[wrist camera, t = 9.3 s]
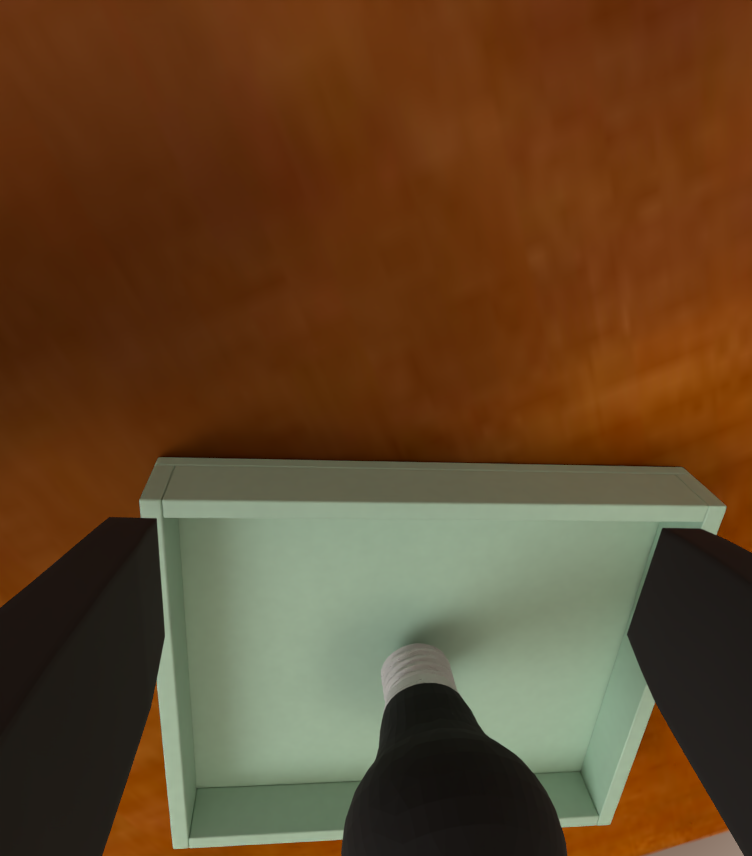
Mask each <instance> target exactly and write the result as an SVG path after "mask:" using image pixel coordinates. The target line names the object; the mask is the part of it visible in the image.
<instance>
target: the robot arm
mask: <svg viewBox="0 0 752 856" xmlns="http://www.w3.org/2000/svg"><path fill="white" fill-rule="evenodd" d="M627 636H628V639H629V641H630V644H631V647H632V649H633V652H634V654H635V657H636V659H637V662H638V664H639V667H640V669H641V672H642V674H643V676H644V678H645V681H646V683H647V685H648V687H649V690H650V692H651V694H652V697H653V699H654V701H655V703H656V704H657V706H658V708H659V710H660V712H661V713H662V715H663V717H664V719H665V720H666V722H667V724H668V726H669V727H670V729H671V731H672V733H673V734H674V736H675V738H676V740H677V741H678V743H679V745H680V747H681V748H682V750H683V752H684V754H685V755H686V757H687V759H688V760H689V762H690V764H691V766H692V767H693V769H694V771H695V772H696V774H697V776H698V778H699V779H700V781H701V783H702V784H703V786H704V788H705V789H706V791H707V793H708V795H709V796H710V798H711V800H712V801H713V803H714V805H715V807H716V808H717V810H718V812H719V813H720V815H721V817H722V818H723V820H724V822H725V824H726V825H727V827H728V829H729V830H730V832H731V834H732V835H733V837H734V839H735V841H736V842H737V844H738V846H739V848H740V849H741V851H742V853H743V854H744V856H752V553H751V552H749V551H747V550H745V549H743V548H741V547H739V546H737V545H735V544H733V543H732V542H730V541H728V540H725V539H723V538H721V537H719V536H717V535H715V534H713V533H710V532H708V531H706V530H703V529H701V528H662V530H661V533H660V536H659V539H658V542H657V545H656V548H655V551H654V554H653V557H652V560H651V563H650V566H649V569H648V572H647V575H646V578H645V581H644V584H643V587H642V590H641V593H640V596H639V599H638V602H637V605H636V608H635V611H634V614H633V617H632V620H631V623H630V626H629V629H628V632H627ZM164 640H165V627H164V613H163V599H162V585H161V571H160V557H159V543H158V529H157V518H121V517H109V518H108V519H106V520H105V521H104V522H103V523H101V524H100V525H99V526H98V527H97V528H95V529H94V530H93V531H92V532H91V533H89V534H88V535H87V536H86V537H85V538H84V539H82V540H81V541H80V542H79V543H78V544H76V545H75V546H74V547H73V548H72V549H70V550H69V551H68V552H67V553H66V554H65V555H63V556H62V557H61V558H60V559H59V560H58V561H56V562H55V563H54V564H53V565H52V566H50V567H49V568H48V569H47V570H46V571H45V572H43V573H42V574H41V575H40V576H39V577H37V578H36V579H35V580H34V581H33V582H31V583H30V584H29V585H28V586H27V587H25V588H24V589H23V590H22V591H20V592H19V593H18V594H17V595H16V596H14V597H13V598H12V599H11V600H9V601H8V602H7V603H6V604H4V605H3V606H2V607H1V608H0V856H102V854H103V851H104V848H105V845H106V842H107V839H108V836H109V833H110V830H111V827H112V824H113V821H114V818H115V815H116V812H117V809H118V806H119V803H120V800H121V797H122V794H123V791H124V788H125V785H126V782H127V779H128V776H129V773H130V770H131V767H132V764H133V761H134V758H135V754H136V751H137V748H138V745H139V742H140V739H141V736H142V733H143V730H144V727H145V724H146V721H147V717H148V714H149V711H150V708H151V703H152V699H153V694H154V689H155V685H156V680H157V675H158V670H159V665H160V660H161V655H162V650H163V645H164Z"/></svg>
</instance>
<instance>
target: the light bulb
mask: <svg viewBox="0 0 752 856" xmlns="http://www.w3.org/2000/svg"><path fill="white" fill-rule="evenodd" d="M381 679H382V686H383V694H384V700H385V707H384V712H383V718H382V722H381V728H380V736H379V748H378V752H377V755H376V759H375V761H374V763H373V764H372V765H371V766H370V768H369V769H368V771H367V772H366V774H365V775H364V777H363V779H362V780H361V782H360V783H359V785H358V787H357V789H356V791H355V793H354V796H353V799H352V802H351V805H350V808H349V810H348V813H347V816H346V819H345V825H344V832H343V842H342V852H341V854H342V856H567V850H566V842H565V838H564V834H563V831H562V828H561V824H560V821H559V818H558V815H557V812H556V809H555V807H554V805H553V803H552V801H551V799H550V797H549V795H548V793H547V791H546V790H545V788H544V787H543V786H542V784H541V783H540V781H539V780H538V778H537V777H536V775H535V774H534V773H533V772H532V771H531V770H530V769H529V767H528V766H527V765H526V764H525V763H524V762H523V761H522V760H521V759H520V758H519V757H518V756H517V755H516V754H515V753H513V752H512V751H510V750H509V749H507V748H506V747H504V746H503V745H501V744H500V743H498V742H497V741H495V740H494V739H491V738H490V737H489V736H487V735H486V734H485V733H484V731H483V730H482V729H481V727H480V726H479V724H478V722H477V720H476V718H475V716H474V715H473V713H472V711H471V709H470V708H469V706H468V705H467V704H466V702H465V701H464V700H463V698H462V696H461V695H460V693H459V692H458V691H457V688H456V685H455V681H454V677H453V674H452V670H451V667H450V663H449V661H448V659H447V658H446V656H445V655H444V653H443V652H442V651H441V650H439V649H438V648H436V647H434V646H431V645H427V644H421V643H415V644H409V645H406V646H403V647H401V648H399V649H397V650H396V651H394V652H393V653H392V654H391V655H390V656H389V657H388V658H387V659H386V660H385V662H384V663H383V666H382V669H381Z"/></svg>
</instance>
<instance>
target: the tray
mask: <svg viewBox="0 0 752 856" xmlns="http://www.w3.org/2000/svg"><path fill="white" fill-rule="evenodd" d="M139 505H140V515H141V518H157V529H158V543H159V557H160V571H161V585H162V599H163V613H164V627H165V640H164V645H163V650H162V655H161V660H160V665H159V670H158V675H157V690H158V700H159V710H160V720H161V731H162V741H163V751H164V761H165V772H166V782H167V792H168V803H169V813H170V823H171V833H172V844H173V849H182V848H189V847H190V848H202V847H219V846H237V845H255V844H273V843H291V842H309V841H326V840H343V832H344V825H345V819H346V816H347V813H348V810H349V808H350V805H351V802H352V799H353V796H354V793H355V791H356V789H357V787H358V785H359V783H360V782H361V780H362V779H363V777H364V775H365V774H366V772H367V771H368V769H369V768H370V766H371V765H372V764H373V763H374V761H375V759H376V755H377V752H378V748H379V736H380V728H381V722H382V718H383V712H384V707H385V700H384V694H383V686H382V679H381V669H382V666H383V663H384V662H385V660H386V659H387V658H388V657H389V656H390V655H391V654H392V653H393V652H394V651H396V650H397V649H399V648H401V647H403V646H406V645H409V644H415V643H421V644H427V645H431V646H434V647H436V648H438V649H439V650H441V651H442V652H443V653H444V655H445V656H446V658H447V659H448V661H449V663H450V667H451V670H452V674H453V677H454V681H455V685H456V688H457V691H458V692H459V693H460V695H461V696H462V698H463V700H464V701H465V702H466V704H467V705H468V706H469V708H470V709H471V711H472V713H473V715H474V716H475V718H476V720H477V722H478V724H479V726H480V727H481V729H482V730H483V731H484V733H485V734H486V735H487V736H489V737H490V738H491V739H494V740H495V741H497V742H498V743H500V744H501V745H503V746H504V747H506V748H507V749H509V750H510V751H512V752H513V753H515V754H516V755H517V756H518V757H519V758H520V759H521V760H522V761H523V762H524V763H525V764H526V765H527V766H528V767H529V769H530V770H531V771H532V772H533V773H534V774H535V775H536V777H537V778H538V780H539V781H540V783H541V784H542V786H543V787H544V788H545V790H546V791H547V793H548V795H549V797H550V799H551V801H552V803H553V805H554V807H555V809H556V812H557V815H558V818H559V821H560V824H561V827H576V826H594V825H610V824H611V821H612V818H613V816H614V813H615V810H616V807H617V805H618V802H619V799H620V796H621V794H622V791H623V788H624V786H625V783H626V780H627V777H628V775H629V772H630V769H631V766H632V764H633V761H634V758H635V756H636V753H637V750H638V747H639V745H640V742H641V739H642V737H643V734H644V731H645V728H646V726H647V723H648V720H649V717H650V715H651V712H652V709H653V707H654V704H655V701H654V699H653V697H652V694H651V692H650V690H649V687H648V685H647V683H646V681H645V678H644V676H643V674H642V672H641V669H640V667H639V664H638V662H637V659H636V657H635V654H634V652H633V649H632V647H631V644H630V641H629V639H628V636H627V632H628V629H629V626H630V623H631V620H632V617H633V614H634V611H635V608H636V605H637V602H638V599H639V596H640V593H641V590H642V587H643V584H644V581H645V578H646V575H647V572H648V569H649V566H650V563H651V560H652V557H653V554H654V551H655V548H656V545H657V542H658V539H659V536H660V533H661V530H662V528H701V529H703V530H706V531H708V532H710V533H713V534H715V535H717V532H718V529H719V527H720V524H721V521H722V519H723V516H724V513H725V510H726V508H727V506H726V505H725V504H724V503H723V502H721V501H720V500H719V499H718V498H717V497H716V496H715V495H714V494H712V493H711V492H710V491H709V490H708V489H707V488H706V487H705V486H704V485H702V484H701V483H700V482H699V481H698V480H697V479H696V478H695V477H693V476H692V475H691V474H690V473H689V472H688V471H687V470H685V469H684V468H683V467H647V466H595V465H543V464H491V463H439V462H386V461H334V460H282V459H230V458H178V457H159V458H158V459H157V461H156V464H155V466H154V468H153V471H152V473H151V475H150V477H149V480H148V482H147V484H146V486H145V489H144V491H143V493H142V495H141V497H140V500H139Z"/></svg>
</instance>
